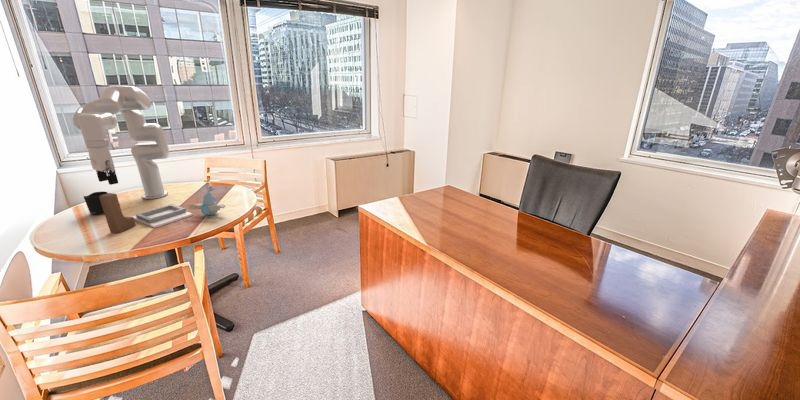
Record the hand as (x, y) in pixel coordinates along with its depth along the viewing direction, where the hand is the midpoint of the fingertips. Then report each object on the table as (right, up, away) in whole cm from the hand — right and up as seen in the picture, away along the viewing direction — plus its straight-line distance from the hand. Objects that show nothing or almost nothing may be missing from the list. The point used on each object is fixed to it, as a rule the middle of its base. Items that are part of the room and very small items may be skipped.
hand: (108, 182), depth 148 cm
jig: (+8, -17, +22) cm, 29 cm away
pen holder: (-28, -15, +27) cm, 42 cm away
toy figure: (+31, -16, +26) cm, 44 cm away
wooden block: (0, -22, +8) cm, 23 cm away
